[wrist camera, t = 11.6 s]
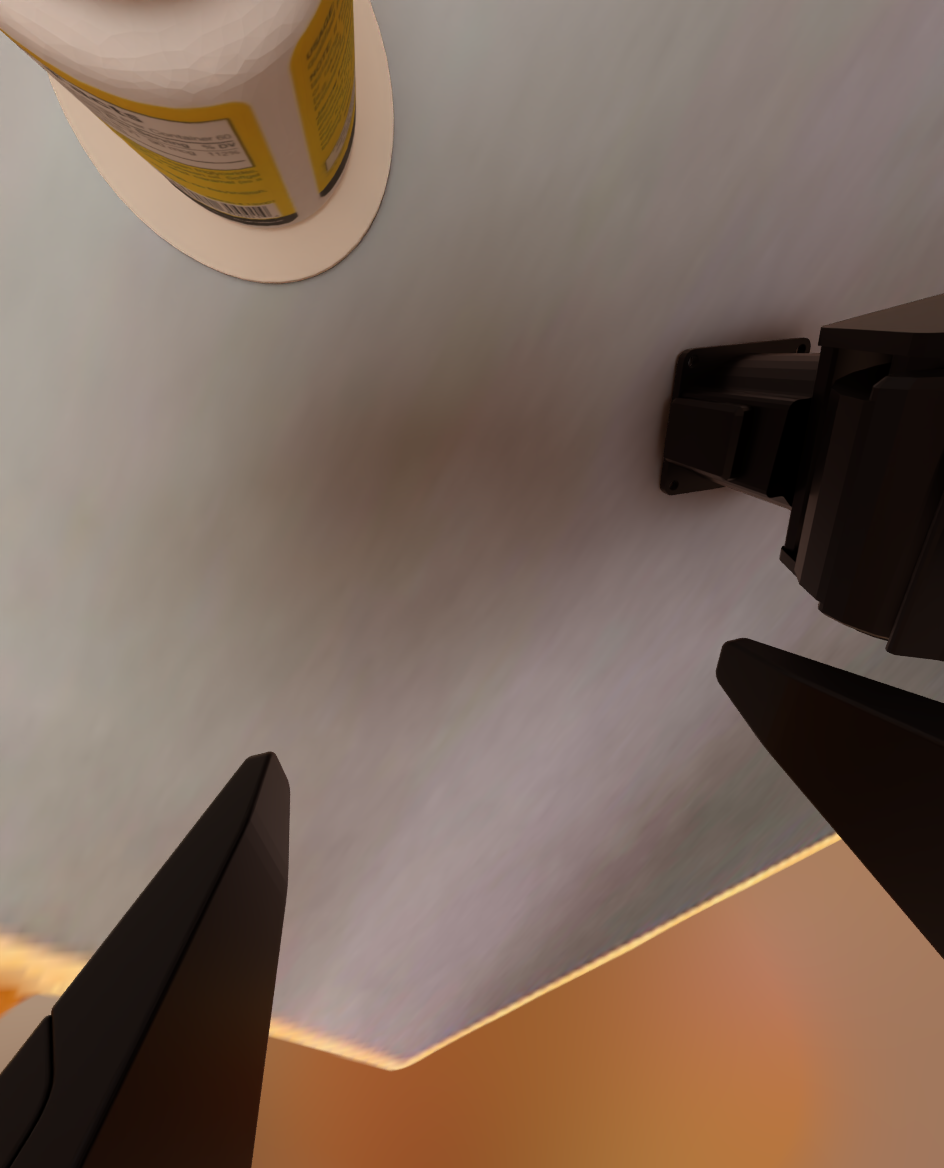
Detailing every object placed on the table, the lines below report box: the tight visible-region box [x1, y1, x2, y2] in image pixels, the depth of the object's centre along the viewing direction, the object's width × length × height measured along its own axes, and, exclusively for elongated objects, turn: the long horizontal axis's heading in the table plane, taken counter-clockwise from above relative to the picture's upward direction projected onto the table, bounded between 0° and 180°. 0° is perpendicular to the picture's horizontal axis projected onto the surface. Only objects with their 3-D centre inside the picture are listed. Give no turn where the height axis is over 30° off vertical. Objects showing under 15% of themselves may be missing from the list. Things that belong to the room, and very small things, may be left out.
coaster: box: [47, 0, 394, 283], centre depth 12 cm, size 9×9×1 cm
